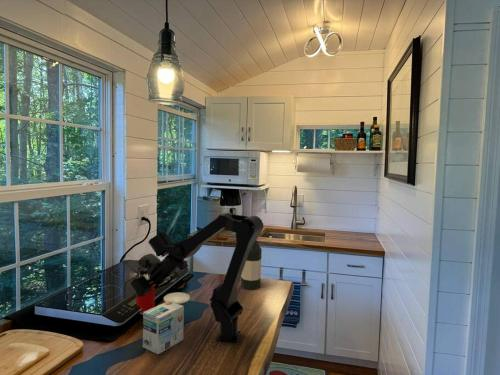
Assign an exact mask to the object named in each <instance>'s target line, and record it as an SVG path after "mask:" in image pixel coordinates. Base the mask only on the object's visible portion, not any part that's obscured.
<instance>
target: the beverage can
mask: <svg viewBox="0 0 500 375" xmlns="http://www.w3.org/2000/svg"><path fill="white" fill-rule="evenodd" d="M145 278H146V279H147V280H149V279H150V278H149V275H148V276H145ZM155 290H156V289H155V285H154V286H152V288H151V291H150V292H151V293H149V294H146V295H144V296H142V297H140V296H139V297H136V296H135V297H136V300H135V301H136V304H137V306H139V307H140V308H142V311H141V312H140V313H139V314H141V315H143V312H145V311H147V310H150V309H152V308H154V307H156V305H155V304H156V303H155V302H156V301H155V300H156V299H155V298H156V295H155V293H156V292H155Z"/></svg>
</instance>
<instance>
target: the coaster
mask: <svg viewBox="0 0 500 375" xmlns="http://www.w3.org/2000/svg"><path fill="white" fill-rule="evenodd" d="M190 300H191V296H190V295H189V294H188V293H185V292H170V293H167V294H166V295H165V296H163V302H164V303H165V302H167V301H171V302H173V303H176V304H179V305H181V304H185V303H187V302H189V301H190Z"/></svg>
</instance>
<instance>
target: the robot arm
mask: <svg viewBox="0 0 500 375" xmlns="http://www.w3.org/2000/svg"><path fill="white" fill-rule="evenodd" d="M225 229H227V230H228V231H230V232H232V233H235V242H236V244H235V247H234V249H233V253H232V256H231V259H230V261H229V264H228V267H227V270H226V273H225V276H224V278H223V282H222V283H221V284H219V285H218V286H216V287H214V288H213V290H212V296H211V298H210V299H209V302H210V308H211V309H212V312H213V315H214V316H213V317H214V319H215V322H217V323H219V330H218V331H219V332H218V333H217V336H216V338H215V340H216V341H217V342H218V341H220V342H227V343H238V340H239V337H240V335H241V331H240V330H239V316H241V315H242V313H243V311H244V307H243V306H242V305H241V303H240V302H239V301H238V296H239V293H238V292H239V291H238V285H239V282H240V281H241V274H242V271H243V269H244V266H245V263H246V260H247V257H248V254H249V252H250V249H251V246H252V245H253V244H254V242H255V241H256V240H257V241H258V238H259V237H260V235H261V233H262V232H263V230H264V223H263V220H262V219H261V217H259V216H257V215H252V216H251V215H250V216H246V215H239V214H236V213H230V212H225V213H220V214H219V215H218V216H217V217H216V218H215V219H214V220H212V221H210V222H209V223H208V224H207V225H205V226H204V227H203V228H201V229H200V230H199V231H197V232H196V233H195V234H193V235H192V236H189V237H187V238H184V239H182V240H180V241H175V242H173V241H172V240H171V239H170V237H169V236H168V234H167V232H166V231H165V230H164V231H160V232H159V233H158V234H156V235H155V236H153V237H151V238H149V240H148V244H149V246H150V247H151V248H152V250H153V251H154V252H155V254H156V255H155V254H153V253H148V254H145V255H143V256H140V259H138V266H139V267H141V268H142V269H146V270H147V271H146V273H147V274H148V277H149V278H150V279H149V280H147V279H146V278H145V277H146V276H145V275H144V274H143V275H142V274H140V275H138V276H136V277H133V279H131V280H130V285H131V287H132V288H133V289H134V291H135V294H134V296H135V297H139V296H140V297H142V296H144V295H146V294H149V293H151V292H150V291H151V288H152V286H154V285H155V290H157V289H159V288H162V287H164V286H167V285H169V284H170V283H173V282H175V281H176V280H178V278H179V273H178V272H177V271H178V269H179V271H184V270H186V269H188V268H189V265H188V260H185V259H188V258H191V257H192V256H194V255H196V254H197V253H198V252H199V250H201V248H202V246H203V245H204V244H205V243H207V242H209V240H210V239H212V238H213V237H215V236H216V235H217V234H219V233H220V232H222V231H223V230H225ZM159 257H164V258H163V259H162V260H161V259H160V258H159Z"/></svg>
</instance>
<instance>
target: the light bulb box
mask: <svg viewBox="0 0 500 375" xmlns="http://www.w3.org/2000/svg"><path fill="white" fill-rule="evenodd" d="M184 315H185V306H184V305H181V304H176V303H173V302H171V301H167V302H165V301H164V302H163V303H161V304H158V305H157V306H156V305H155V307H154V308H152V309H150V310H147V311H145V312H143V314H142V316H143V317H142V318H143V319H142V348H144V349H146V350H147V351H150V352H152V353H154V354H156V355H159V354H161V353H164V352H165V351H167V350H168V349H170V348H173V346H175V345H177V344H179V343H180V342H181V341H183V340H184V322H185V320H184V318H185V317H184Z"/></svg>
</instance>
